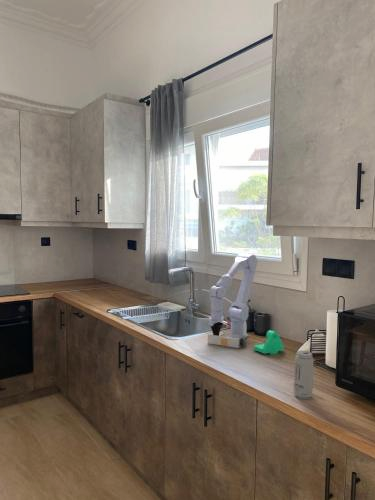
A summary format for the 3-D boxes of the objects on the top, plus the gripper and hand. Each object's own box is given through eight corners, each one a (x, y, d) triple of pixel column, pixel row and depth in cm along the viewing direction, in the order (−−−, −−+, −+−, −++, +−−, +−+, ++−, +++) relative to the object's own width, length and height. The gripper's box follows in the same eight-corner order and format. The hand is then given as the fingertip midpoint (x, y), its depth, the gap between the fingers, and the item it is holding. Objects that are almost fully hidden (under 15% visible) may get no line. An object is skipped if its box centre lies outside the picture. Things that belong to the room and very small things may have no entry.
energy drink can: (290, 393, 134) (292, 351, 133) (305, 391, 136) (306, 349, 135) (300, 401, 128) (302, 356, 127) (315, 398, 130) (317, 355, 129)
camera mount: (271, 347, 186) (272, 326, 185) (283, 352, 180) (284, 330, 179) (253, 351, 180) (253, 329, 179) (264, 356, 173) (265, 333, 173)
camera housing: (225, 341, 194) (225, 332, 194) (246, 344, 189) (246, 335, 189) (219, 344, 188) (219, 335, 188) (241, 348, 183) (241, 339, 182)
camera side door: (208, 342, 190) (208, 334, 190) (239, 347, 183) (240, 339, 183) (207, 343, 189) (207, 334, 189) (238, 348, 182) (239, 339, 182)
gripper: (215, 306, 200) (214, 332, 201) (203, 311, 187) (202, 339, 188) (227, 308, 197) (227, 334, 197) (216, 313, 184) (215, 341, 185)
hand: (216, 337), depth 192 cm, fingers closed
